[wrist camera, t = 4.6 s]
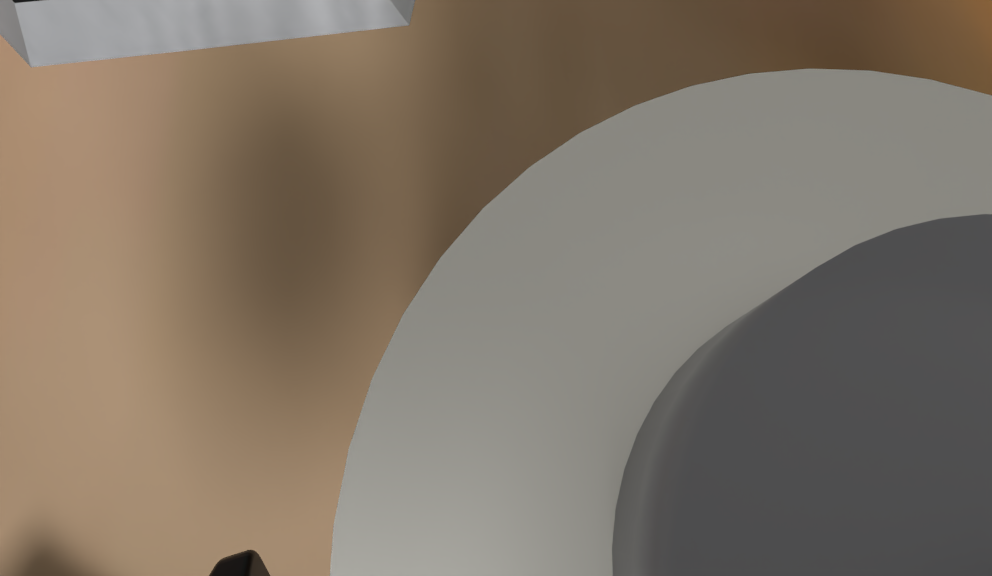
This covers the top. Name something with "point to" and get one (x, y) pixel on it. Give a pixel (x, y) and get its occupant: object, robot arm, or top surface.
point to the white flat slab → (178, 24)
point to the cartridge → (702, 350)
